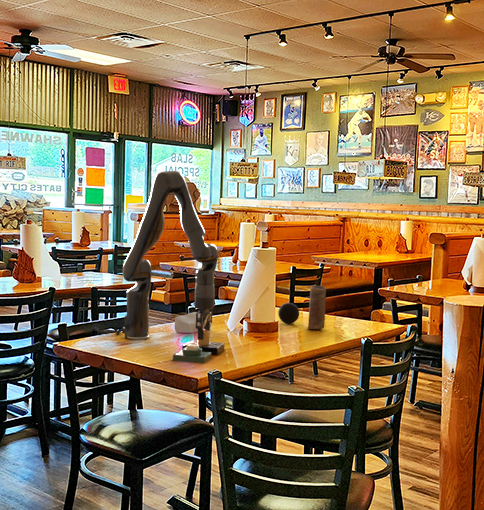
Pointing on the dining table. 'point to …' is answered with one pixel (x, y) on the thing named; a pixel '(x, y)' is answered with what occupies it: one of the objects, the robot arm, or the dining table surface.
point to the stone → (186, 323)
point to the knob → (205, 338)
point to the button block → (192, 356)
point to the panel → (208, 347)
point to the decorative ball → (288, 313)
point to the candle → (317, 307)
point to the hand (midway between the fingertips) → (203, 337)
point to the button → (192, 347)
